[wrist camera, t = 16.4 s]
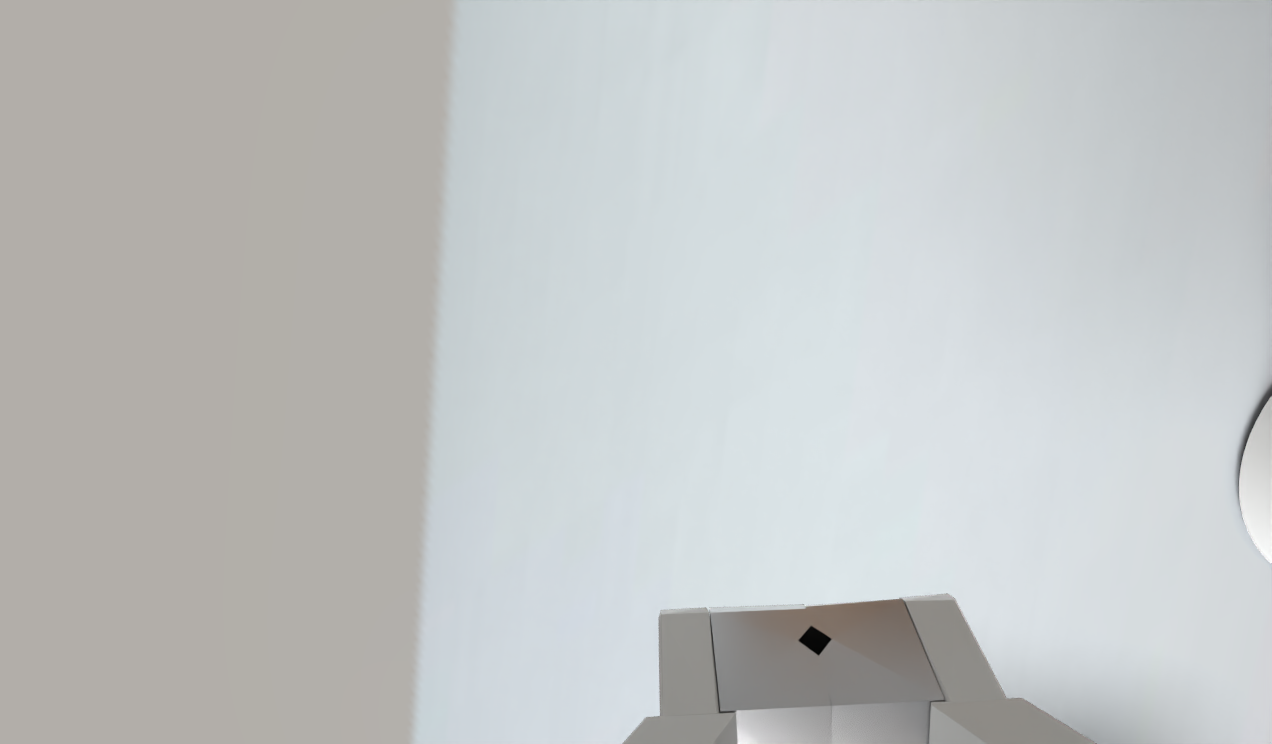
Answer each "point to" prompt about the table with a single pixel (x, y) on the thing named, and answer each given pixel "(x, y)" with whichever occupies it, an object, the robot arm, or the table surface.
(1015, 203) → the table surface
